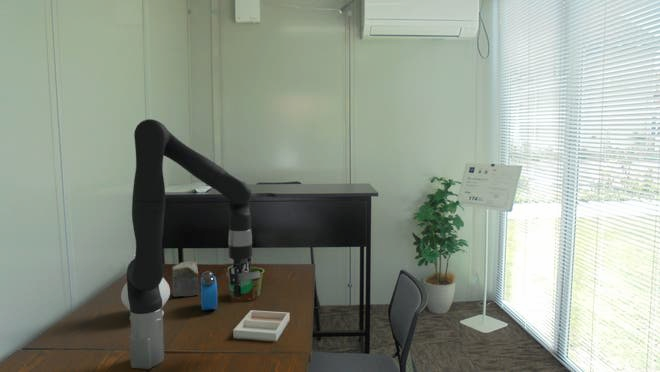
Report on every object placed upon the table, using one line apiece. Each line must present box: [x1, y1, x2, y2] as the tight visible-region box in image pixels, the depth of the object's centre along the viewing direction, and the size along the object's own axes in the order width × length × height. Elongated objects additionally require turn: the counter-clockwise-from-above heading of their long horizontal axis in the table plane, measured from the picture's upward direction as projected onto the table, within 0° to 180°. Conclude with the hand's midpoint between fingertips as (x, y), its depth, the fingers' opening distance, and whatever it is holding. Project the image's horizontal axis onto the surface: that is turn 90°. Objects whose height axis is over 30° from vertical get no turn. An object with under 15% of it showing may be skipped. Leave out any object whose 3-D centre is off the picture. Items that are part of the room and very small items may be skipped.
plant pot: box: [251, 267, 265, 297], centre depth 195 cm, size 12×12×11 cm
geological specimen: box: [171, 260, 200, 298], centre depth 195 cm, size 11×6×15 cm, turn 115°
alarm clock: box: [199, 270, 218, 312], centre depth 179 cm, size 13×6×15 cm, turn 19°
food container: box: [226, 265, 260, 303], centre depth 142 cm, size 12×6×10 cm, turn 62°
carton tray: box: [232, 309, 291, 342], centre depth 161 cm, size 18×16×3 cm
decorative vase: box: [120, 253, 171, 317], centre depth 171 cm, size 18×18×25 cm
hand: (240, 292), depth 143 cm, fingers closed on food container, 5 cm apart
